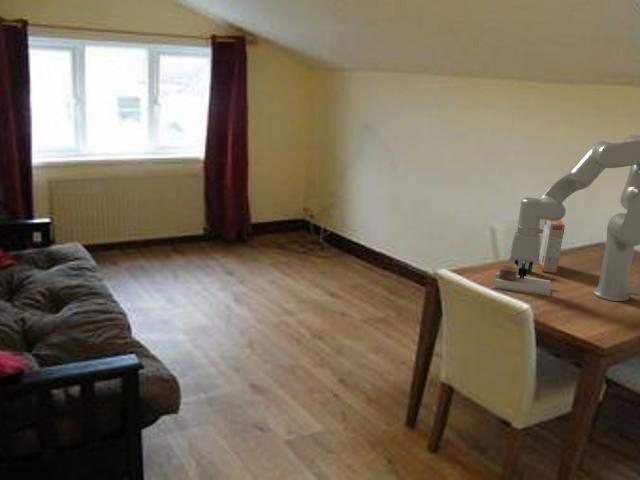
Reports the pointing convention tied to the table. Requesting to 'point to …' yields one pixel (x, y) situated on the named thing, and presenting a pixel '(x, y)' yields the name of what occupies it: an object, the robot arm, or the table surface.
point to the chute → (525, 285)
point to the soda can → (528, 268)
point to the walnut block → (508, 273)
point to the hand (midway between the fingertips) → (521, 277)
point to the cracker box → (551, 245)
